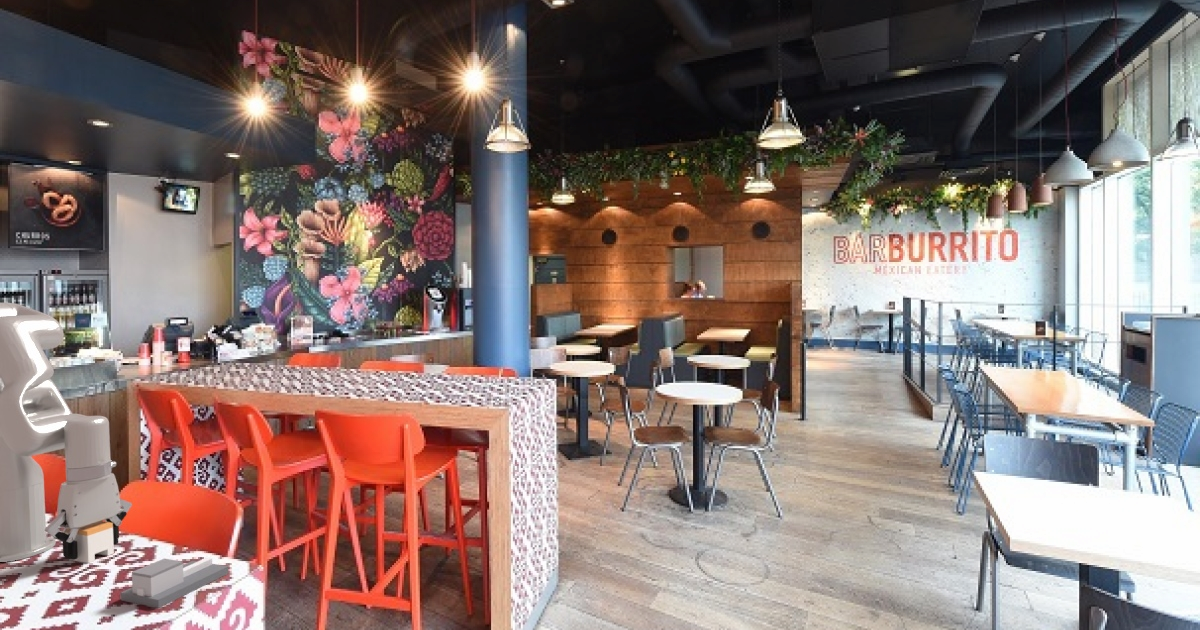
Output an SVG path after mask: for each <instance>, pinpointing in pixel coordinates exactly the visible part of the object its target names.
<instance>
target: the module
mask: <svg viewBox="0 0 1200 630" xmlns="http://www.w3.org/2000/svg"><path fill="white" fill-rule="evenodd" d="M74 540H75V541H77V546H78V558H77V559H75V560H72V559H69V560H70V561H73V562H80V563H85V564H90V563H92V562H93V563H94V562H95V561H96V559H95V558H96V556H95V555H100V556H101V555H102V556H106V557H107V556H112V555H113V554H115V548H114V547H115V545H114V542H113V523H110V522H106V521H104V520H103V521H100V522H97V523H94V524H91V525H88V526H84V527H81V528H79V530H78V532H77V534H76V536H75V538H74Z"/></svg>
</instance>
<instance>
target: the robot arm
mask: <svg viewBox="0 0 1200 630" xmlns="http://www.w3.org/2000/svg"><path fill="white" fill-rule="evenodd" d="M63 339H64V330H63V327H62V325H61V324H60V322H59V321H58V320H57V319H55V318H54V317H53V316H51V315H49V314H47V313H45V312H41V311H38V310H37V309H33V308H30V307H27V306H25V305H22V304H19V303H13V302H0V562H6V563H8V562H7V561H11V562H15V560H16V561H20V560H23V559H24V560H25V559H27V558H31V557H34V556H38V555H39V554H41V553H42V554H43V553H44V552H47V551H49V550H50V549H52V548H53V547H54V546H56V541H57V540H58V541H60V542H62V554H63V556H64V558H65V559H67V560H70V559H72V560H71V561H74V560H75V559H77V558H78V546H77V541H75V540H74V538H75V536H76V534H77V532H78V530H79V528H81V527H84V526H88V525H91V524H94V523H97V522H100V521H103V522H110V523H113V542H114V546H115V545H118V544H119V538H120V529H119V527H120V526H121V525H122V521H123V520H124V519H125V517H126V516H127V514H128V513H129V510H130V509H131V507H132V506H133V503H132V502H130V501H128V500H124V499H121V498H120V491H119V485H118V482H117V479H116V475H115V474H114V472H112V470H113V468H116V466H117V462H116V461H115V460H113V461H112V460H111V443H110V440H111V437H110V422H109V419H108V418H107V417H106V416H102V415H84V414H80V413H73V412H72V410H71V409H70V407H69V405H68V404H67V402H66V400H65V399H64V397H63V395H62V393H61V392H60V390H59V389H58V387H57V385H56V384H55V382H54V380H52V379H51V378H52V377H53V375H54V371H55V370H54V367H53V365H52V364H51V363H50V360H49V359H48V357H47V355H46V353H45V350H52V349H55V348H57V347H58V346H60V345H61V344H62V342H63V341H64V340H63ZM59 450H64V458H65V459H64V460H65V478H66V481H64V482H62V483H61V484H60V489H59V494H58V498H57V509H56V510H57V513H56V518H55V517H54V519H53V520H52V521H51V522H50V523H49V524H48V525H47V523H46V503H45V502H46V501H45V480H44V479H45V478H44V472H43V468H42V467H41V465H40V464H39V463H38V462H37V461H36V460H35V459H34V458H33V457H32V456H37V455H41V454H46V453H50V452H54V451H59ZM59 528H63V529H62V531H61V530H60V529H59ZM47 534H48V535H50V536H47ZM56 539H57V540H56Z"/></svg>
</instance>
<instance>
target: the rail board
mask: <svg viewBox="0 0 1200 630" xmlns="http://www.w3.org/2000/svg"><path fill="white" fill-rule="evenodd" d="M228 574H229V565H224V564H223V565H221V564H215V563H213V558H210V557H205V558H203V559H200V560H190V561H189V562H187V563H184V562H183V561H182V560H181V561H180V560H175V559H171V558H162V559H160V560H157V561H155V562H153V563H150V564H148V565H146V566H143V567H141V568H138V569H136V570H134V571H132V572H131V583H132V585H131V586H132V587H130V588H128V589H126V590H123V591H121V592H120V601H121V602H127V603H132V604H137V605H141V606H142V605H143V606H148V607H152V608H158V609H159V608H162V607H163V606H165V605H168V604H170V603H171V602H172V603H173V602H175V600H178V599H180V598H182V597H184V596H185V595H188V594H190V593H192V592H194V591H196V590H198V589H200V588H202V587H204V586H206V585H208V584H210V583H212V582H214V581H216V580H218V579H221V578H222V577H224V576H226V575H228Z"/></svg>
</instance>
